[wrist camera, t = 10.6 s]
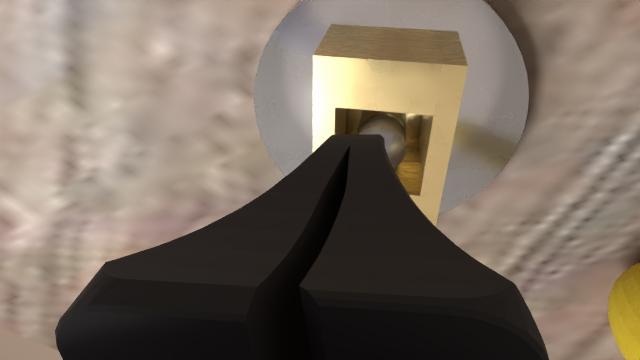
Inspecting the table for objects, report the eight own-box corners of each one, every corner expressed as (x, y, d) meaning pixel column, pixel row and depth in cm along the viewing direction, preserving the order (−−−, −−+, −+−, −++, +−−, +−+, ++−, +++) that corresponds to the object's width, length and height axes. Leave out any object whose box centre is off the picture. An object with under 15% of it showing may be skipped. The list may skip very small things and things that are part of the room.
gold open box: (327, 169, 22) (312, 219, 19) (331, 23, 18) (313, 55, 15) (430, 180, 21) (433, 234, 18) (457, 31, 17) (468, 65, 14)
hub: (232, 154, 24) (203, 198, 20) (312, -89, 17) (288, -82, 14) (434, 241, 25) (437, 297, 21) (588, 44, 18) (628, 80, 14)
